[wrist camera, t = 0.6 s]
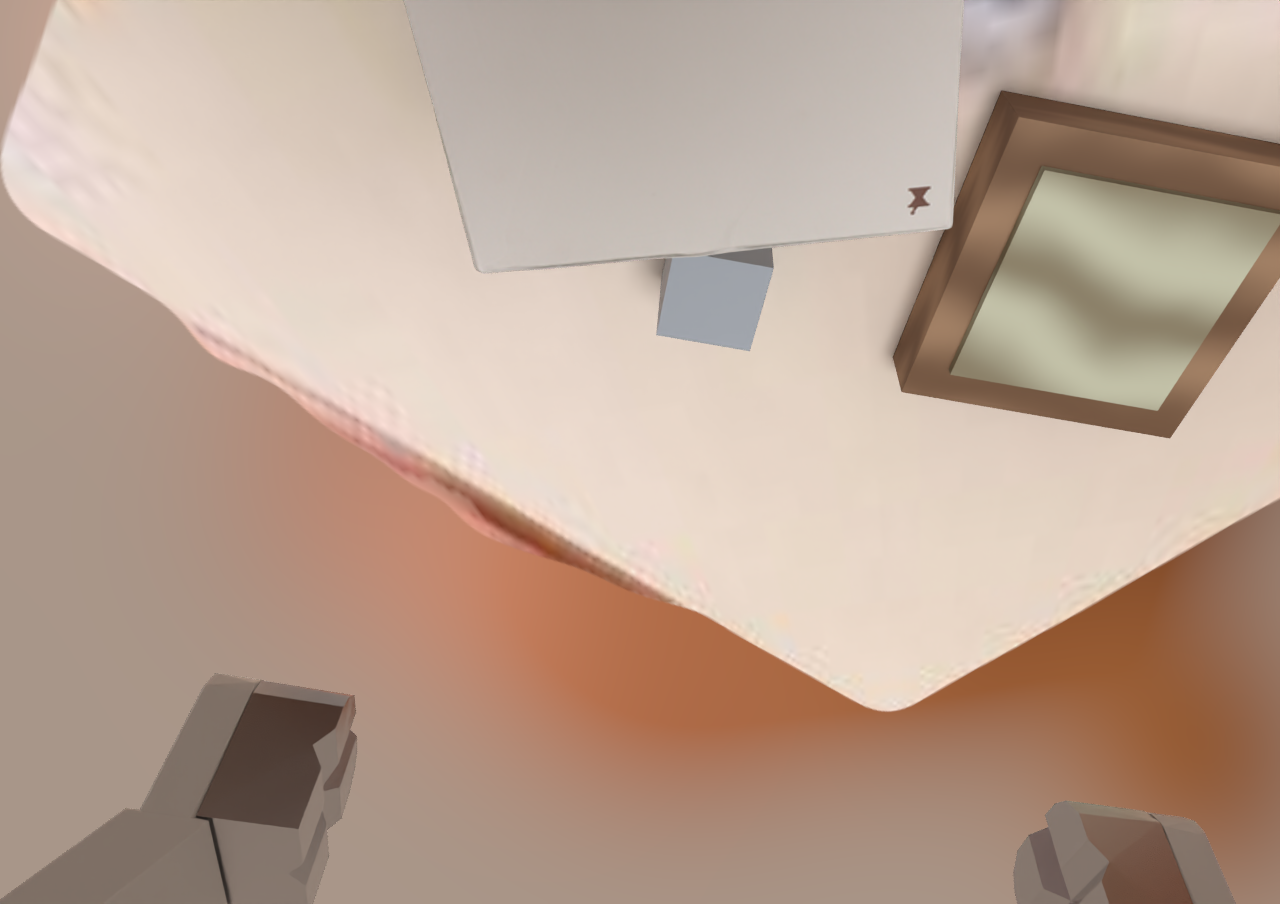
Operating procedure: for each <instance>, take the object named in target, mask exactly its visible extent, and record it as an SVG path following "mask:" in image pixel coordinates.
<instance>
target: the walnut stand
mask: <svg viewBox="0 0 1280 904" xmlns="http://www.w3.org/2000/svg"><path fill="white" fill-rule="evenodd" d="M1279 278H1280V144H1276V143H1271V142H1266V141H1261V140H1256V139H1250V138H1245V137H1240V136H1235V135H1230V134H1224V133H1219V132H1214V131H1209V130H1204V129H1198V128H1193V127H1188V126H1183V125H1178V124H1172V123H1167V122H1162V121H1157V120H1152V119H1146V118H1141V117H1136V116H1131V115H1126V114H1120V113H1115V112H1110V111H1105V110H1100V109H1094V108H1089V107H1084V106H1079V105H1074V104H1068V103H1063V102H1058V101H1053V100H1048V99H1042V98H1037V97H1032V96H1027V95H1022V94H1016V93H1011V92H1006V91H1001V93H1000V96H999V98H998V101H997V103H996V105H995V108H994V110H993V113H992V115H991V118H990V120H989V123H988V125H987V128H986V130H985V132H984V135H983V137H982V140H981V142H980V145H979V147H978V150H977V152H976V155H975V157H974V159H973V162H972V164H971V167H970V169H969V172H968V174H967V177H966V179H965V182H964V184H963V187H962V189H961V191H960V194H959V196H958V199H957V201H956V204H955V206H954V210H953V225H952V227H951V228H949V229H945V231H944V233H943V236H942V238H941V241H940V243H939V245H938V248H937V250H936V253H935V255H934V258H933V260H932V263H931V265H930V268H929V270H928V272H927V275H926V277H925V280H924V282H923V285H922V287H921V290H920V292H919V295H918V297H917V299H916V302H915V304H914V307H913V309H912V312H911V314H910V317H909V319H908V322H907V324H906V326H905V329H904V331H903V334H902V336H901V339H900V341H899V344H898V346H897V349H896V351H895V353H894V356H893V359H894V363H895V367H896V371H897V375H898V379H899V383H900V387H901V391H902V392H905V393H911V394H917V395H922V396H928V397H934V398H940V399H946V400H951V401H957V402H963V403H969V404H974V405H980V406H986V407H992V408H998V409H1003V410H1009V411H1015V412H1021V413H1027V414H1032V415H1038V416H1044V417H1050V418H1055V419H1061V420H1067V421H1073V422H1079V423H1084V424H1090V425H1096V426H1102V427H1107V428H1113V429H1119V430H1125V431H1131V432H1136V433H1142V434H1148V435H1154V436H1159V437H1165V438H1170V437H1171V436H1172V435H1173V433H1174V432H1175V430H1176V429H1177V427H1178V426H1179V424H1180V423H1181V421H1182V420H1183V418H1184V417H1185V415H1186V414H1187V413H1188V411H1189V410H1190V408H1191V407H1192V405H1193V404H1194V402H1195V401H1196V399H1197V398H1198V396H1199V395H1200V393H1201V392H1202V391H1203V389H1204V388H1205V386H1206V385H1207V383H1208V382H1209V380H1210V379H1211V377H1212V376H1213V374H1214V373H1215V372H1216V370H1217V369H1218V367H1219V366H1220V364H1221V363H1222V361H1223V360H1224V358H1225V357H1226V355H1227V354H1228V352H1229V351H1230V350H1231V348H1232V347H1233V345H1234V344H1235V342H1236V341H1237V339H1238V338H1239V336H1240V335H1241V333H1242V332H1243V330H1244V329H1245V328H1246V326H1247V325H1248V323H1249V322H1250V320H1251V319H1252V317H1253V316H1254V314H1255V313H1256V311H1257V310H1258V309H1259V307H1260V306H1261V304H1262V303H1263V301H1264V300H1265V298H1266V297H1267V295H1268V294H1269V292H1270V291H1271V289H1272V288H1273V287H1274V285H1275V284H1276V282H1277V281H1278V279H1279Z"/></svg>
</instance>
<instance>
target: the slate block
mask: <svg viewBox="0 0 1280 904" xmlns="http://www.w3.org/2000/svg"><path fill="white" fill-rule="evenodd" d="M773 268H774V267H773V256H772V248H763V249H755V250H746V251H737V252H728V253H722V254H715V255H708V256H701V257H684V258H666V259H665V263H664V268H663V273H662V279H661V290H660V301H659V312H658V323H657V334H656V335H659V336H665V337H671V338H677V339H683V340H688V341H694V342H700V343H706V344H711V345H717V346H723V347H729V348H735V349H740V350H746V351H750V349H751V345H752V342H753V338H754V335H755V331H756V328H757V324H758V321H759V317H760V314H761V310H762V307H763V303H764V300H765V296H766V293H767V289H768V286H769V282H770V279H771V275H772V272H773Z"/></svg>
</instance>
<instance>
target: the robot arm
mask: <svg viewBox="0 0 1280 904" xmlns="http://www.w3.org/2000/svg"><path fill="white" fill-rule="evenodd" d="M355 714H356V708H355V697H354V695H350V694H344V693H337V692H331V691H324V690H318V689H312V688H306V687H299V686H293V685H287V684H279V683H274V682H267V681H264V680H259V679H252V678H245V677H238V676H231V675H225V674H218V673H215V674H214V676H212V678H211V679H210V680H209V681H208V682H207V683H206V684H205V685H204V687H203V688H202V690H201V692H200V694H199V696H198V698H197V700H196V702H195V704H194V705H193V708H192V709H191V711H190V713H189V715H188V717H187V719H186V721H185V723H184V725H183V727H182V729H181V731H180V733H179V735H178V737H177V739H176V740H175V743H174V745H173V746H172V748H171V750H170V752H169V754H168V756H167V758H166V760H165V762H164V764H163V766H162V768H161V769H160V772H159V773H158V775H157V777H156V779H155V781H154V783H153V785H152V787H151V789H150V791H149V793H148V795H147V797H146V799H145V801H144V803H143V805H142V807H141V808H140V810H138V809H128V808H125V809H124V810H122V811H121V812H120V813H118V814H117V815H116V816H114V817H113V818H111V819H110V820H109V821H107V822H106V823H105V824H103V825H102V826H100V827H99V828H98V829H96V830H95V831H94V832H92V833H91V834H89V835H88V836H87V837H85V838H84V839H83V840H81V841H80V842H78V843H77V844H76V845H74V846H73V847H72V848H70V849H69V850H67V851H66V852H65V853H63V854H62V855H61V856H59V857H58V858H56V859H55V860H54V861H52V862H51V863H49V864H48V865H47V866H46V867H44V868H43V869H42V870H40V871H39V872H37V873H36V874H34V875H33V876H32V877H30V878H29V879H27V880H26V881H25V882H23V883H22V884H21V885H19V886H18V887H16V888H15V889H14V890H12V891H11V892H10V893H8V894H7V895H6V896H4V897H3V898H1V899H0V904H313V902H314V899H315V896H316V893H317V890H318V887H319V884H320V881H321V878H322V875H323V872H324V869H325V866H326V863H327V860H328V857H329V852H328V836H327V830H328V829H329V828H330V827H331V826H333V825H334V824H335V823H336V822H337V821H339V820H340V819H341V818H342V815H343V812H344V809H345V805H346V802H347V799H348V796H349V793H350V788H351V784H352V779H353V775H354V770H355V763H356V755H357V736H356V735H355V734H354V733H353V732H352V731H351V730H350V729H351V726H352V723H353V719H354V717H355ZM1045 816H1046V820H1047V823H1048V828H1045V829H1043V830H1040V831H1038V832H1035V833H1033V834H1030V835H1029V836H1028V837H1027V838H1026V840H1025V841H1024V843H1023V844H1022V845H1021V847H1020V848H1019V849H1018V851H1017V856H1016V862H1015V867H1014V889H1015V896H1016V900H1017V904H1236V903H1235V901H1234V898H1233V896H1232V894H1231V891H1230V889H1229V887H1228V885H1227V882H1226V880H1225V878H1224V875H1223V873H1222V871H1221V869H1220V866H1219V864H1218V862H1217V860H1216V857H1215V855H1214V853H1213V850H1212V848H1211V846H1210V844H1209V841H1208V839H1207V837H1206V835H1205V833H1204V831H1203V830H1202V829H1201V828H1200V827H1199V825H1198V824H1197V823H1196V822H1195V821H1193V820H1190V819H1187V818H1184V817H1177V816H1169V815H1161V814H1154V813H1146V812H1145V811H1140V810H1133V809H1126V808H1118V807H1110V806H1103V805H1095V804H1088V803H1080V802H1072V801H1063V802H1059V803H1056V804H1054V805H1053V807H1052V808H1051V809H1050V810H1049V811H1048V812H1047V813H1046V815H1045Z"/></svg>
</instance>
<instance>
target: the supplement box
mask: <svg viewBox="0 0 1280 904" xmlns="http://www.w3.org/2000/svg"><path fill="white" fill-rule="evenodd" d="M403 1H404V4H405V8H406V11H407V15H408V18H409V22H410V25H411V29H412V32H413V36H414V39H415V43H416V46H417V50H418V54H419V57H420V61H421V64H422V68H423V72H424V75H425V79H426V83H427V86H428V90H429V93H430V97H431V100H432V104H433V108H434V112H435V116H436V120H437V124H438V128H439V132H440V136H441V139H442V143H443V147H444V151H445V155H446V159H447V163H448V167H449V171H450V175H451V179H452V183H453V187H454V190H455V194H456V198H457V202H458V206H459V210H460V213H461V217H462V221H463V225H464V229H465V233H466V236H467V240H468V244H469V248H470V252H471V256H472V259H473V263H474V267H475V269H476V270H477V271H479V272H481V273H499V272H509V271H525V270H541V269H554V268H565V267H575V266H586V265H596V264H606V263H616V262H628V261H638V260H651V259H664V258H684V257H701V256H708V255H715V254H722V253H728V252H737V251H746V250H755V249H763V248H773V247H783V246H794V245H803V244H812V243H823V242H833V241H843V240H853V239H862V238H872V237H881V236H891V235H900V234H910V233H919V232H927V231H936V230H945V229H949V228H951V227H952V225H953V210H954V189H955V166H956V141H957V120H958V99H959V77H960V58H961V43H962V26H963V10H964V0H403Z"/></svg>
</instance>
